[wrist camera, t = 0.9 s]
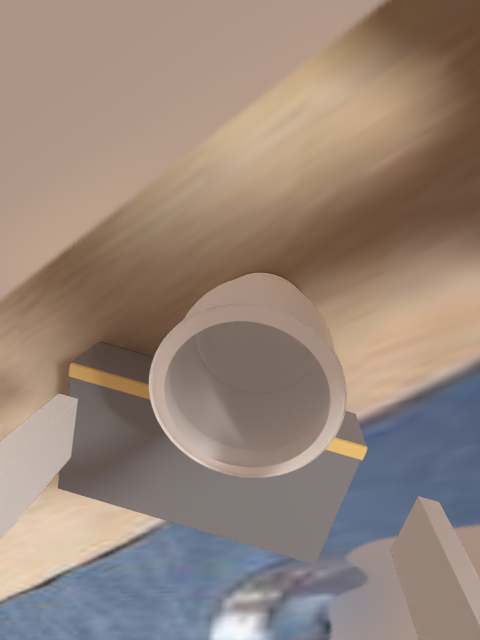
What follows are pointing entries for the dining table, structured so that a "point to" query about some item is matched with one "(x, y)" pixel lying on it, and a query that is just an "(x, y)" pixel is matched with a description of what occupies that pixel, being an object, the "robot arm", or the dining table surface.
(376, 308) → the dining table surface
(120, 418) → the dock
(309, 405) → the jar
